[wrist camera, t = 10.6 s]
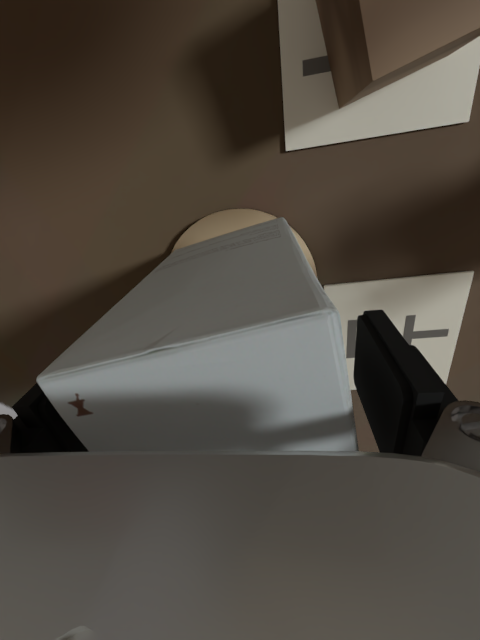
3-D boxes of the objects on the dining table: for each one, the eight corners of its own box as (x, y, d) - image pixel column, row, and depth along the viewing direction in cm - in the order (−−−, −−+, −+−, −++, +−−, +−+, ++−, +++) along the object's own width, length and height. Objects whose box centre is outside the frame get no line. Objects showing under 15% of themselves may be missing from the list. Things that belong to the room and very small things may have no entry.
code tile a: (323, 285, 19) (324, 286, 19) (472, 270, 18) (474, 271, 17) (323, 389, 23) (324, 391, 23) (444, 383, 22) (445, 385, 21)
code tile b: (271, -108, 11) (271, -113, 11) (523, -179, 10) (528, -187, 10) (285, 151, 15) (286, 151, 15) (466, 122, 14) (468, 121, 14)
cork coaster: (150, 219, 18) (147, 221, 17) (314, 196, 16) (316, 197, 16) (186, 352, 22) (184, 356, 22) (316, 343, 21) (318, 347, 20)
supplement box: (211, 344, 21) (150, 542, 10) (172, 247, 18) (16, 377, 7) (311, 322, 19) (374, 527, 8) (288, 212, 16) (341, 303, 5)
